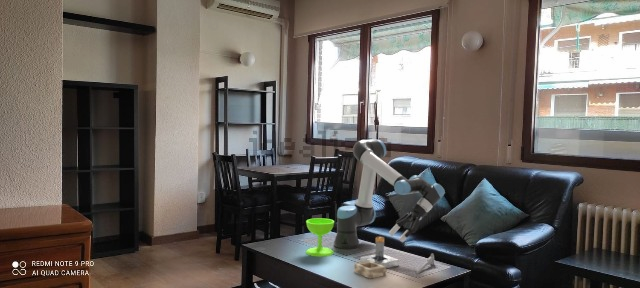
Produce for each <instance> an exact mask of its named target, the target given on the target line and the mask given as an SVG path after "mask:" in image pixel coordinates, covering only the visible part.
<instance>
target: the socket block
mask: <svg viewBox="0 0 640 288" xmlns="http://www.w3.org/2000/svg"><path fill="white" fill-rule="evenodd" d="M366 261H372V262H375V263H377V264H380V265H382V266H385V267H386V269H389V268H393V267H397V266H399V265H400V263H399V261H400V259H398V258H395V257H392V256H389V255H386V254H384V260H381V261H378V260H375V254H371V255H370V254H369V255H365V256H360V263H361V262H366Z"/></svg>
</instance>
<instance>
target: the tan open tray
mask: <svg viewBox="0 0 640 288" xmlns="http://www.w3.org/2000/svg"><path fill="white" fill-rule="evenodd" d="M353 269H354V270H353V271H354V272H353V273H357V274H358V275H361V276H363V277H366V278H367V279H374V278H379V277H383V276H387V268H386V267H385V266H382V265H380V264H377V263H375V262H372V261H366V262H361V261H360V262H356V263H354V268H353Z"/></svg>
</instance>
